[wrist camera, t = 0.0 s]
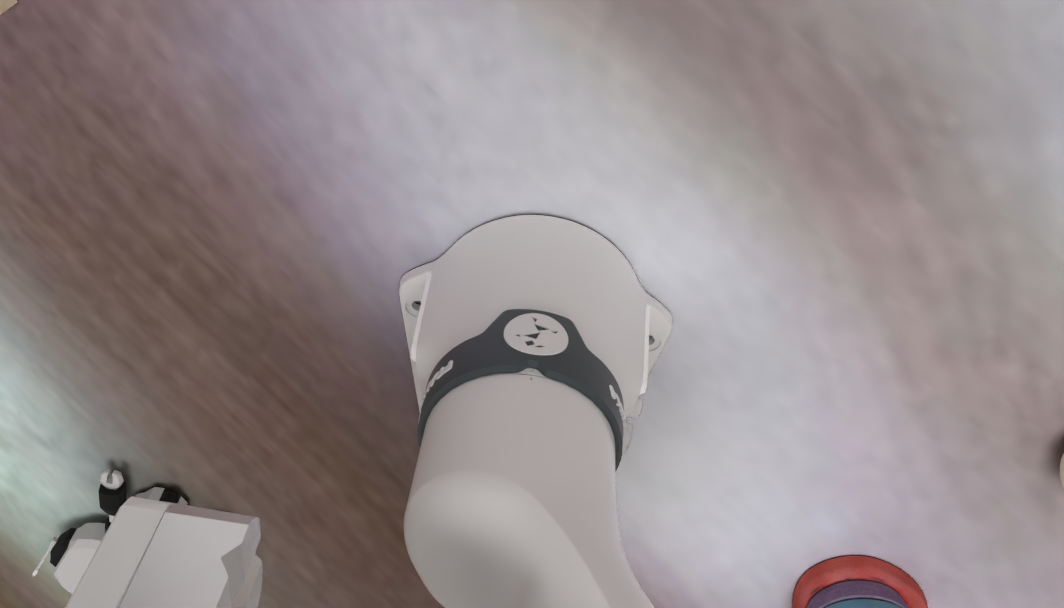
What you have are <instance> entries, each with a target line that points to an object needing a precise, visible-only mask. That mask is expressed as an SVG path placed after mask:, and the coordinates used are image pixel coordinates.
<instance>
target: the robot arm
mask: <svg viewBox="0 0 1064 608" xmlns="http://www.w3.org/2000/svg"><path fill="white" fill-rule="evenodd" d="M399 297H400V303H401V309H402V314H403V320H404V326H405V332H406V337H407V343H408V349H409V354H410V360H411V366H412V372H413V377H414V383H415V389H416V394H417V400H418V406H419V413H420V415H419V420H418V423H419V425H418V441H419V446H420V451H419V456H418V460H417V464H416V469H415V473H414V477H413V481H412V486H411V490H410V494H409V499H408V503H407V507H406V512H405V516H404V538H405V543H406V548H407V551H408V554H409V557H410V559H411V561H412V563H413V565H414V567H415V569H416V571H417V573H418V575H419V576H420V578H421V580H422V582H423V583H424V585H425V586H426V588H427V589H428V591H429V592H430V593H431V595H432V596H433V597H434V598H435V599H436V600H437V601H438V602H439V603H440V604H441V605H442V606H443V607H444V608H654V606H653V605H652V604H651V602H650V601H649V599H648V598H647V596H646V595H645V593H644V592H643V590H642V589H641V587H640V585H639V583H638V582H637V580H636V578H635V576H634V574H633V572H632V570H631V568H630V566H629V564H628V562H627V559H626V556H625V553H624V550H623V547H622V543H621V538H620V530H619V521H618V513H617V501H616V481H615V472H616V470H617V468H618V465H619V463H620V460H621V456H622V453H625V452H626V450H627V449H628V446H629V444H630V440H631V436H632V430H633V425H632V423H630V421H627V420H626V418H627V417H631V418H638V417H639V415H640V412H641V409H642V404H643V401H642V399H641V398H638V396H639V395H641V394H644V393H645V392H646V388H647V380H648V375H649V373H650V371H651V370H652V368H653V366H654V364H655V362H656V360H657V358H658V357H659V355H660V353H661V351H662V349H663V347H664V345H665V344H666V342H667V340H668V338H669V336H670V334H671V331H672V324H673V318H672V316H671V314H670V312H669V311H668V310H667V309H666V308H665V307H664V306H663V305H662V304H661V303H659V302H658V301H657V300H656V299H654V298H653V297H652V296H650V295H649V294H648V293H646V291H645V290H644V289H643V287H642V286H641V284H640V282H639V280H638V278H637V276H636V274H635V272H634V270H633V268H632V267H631V265H630V264H629V262H628V261H627V259H626V258H625V257H624V256H623V254H622V253H621V252H620V251H619V250H618V249H617V248H616V247H615V246H614V245H613V244H612V243H611V242H609V241H608V240H607V239H605V238H604V237H603V236H601V235H600V234H598V233H596V232H595V231H593V230H591V229H589V228H587V227H585V226H583V225H580V224H578V223H575V222H572V221H569V220H566V219H561V218H557V217H551V216H543V215H520V216H511V217H506V218H502V219H498V220H494V221H491V222H489V223H486V224H484V225H481V226H479V227H477V228H475V229H473V230H472V231H470V232H469V233H467V234H466V235H464V236H463V237H461V238H460V239H459V240H458V241H457V242H456V243H455V244H454V245H453V246H452V247H451V248H450V249H449V250H448V251H447V252H446V253H445V254H443V255H442V256H441V257H440V258H439V259H437V260H436V261H433V262H431V263H428V264H425V265H422V266H420V267H417V268H415V269H413V270H411V271H409V272H407V273H406V274H405V275H403V277H402V278H401V280H400V286H399ZM414 301H421V305H418V304H416V303H415V302H414ZM649 335H651V336H653V337H652V338H650V339H649ZM260 538H261V531H260V520H259V518H257V517H253V516H247V515H241V514H235V513H229V512H224V511H218V510H212V509H206V508H200V507H194V506H188V505H183V504H177V503H170V502H163V501H157V500H151V499H144V498H138V497H130V498H129V499H128V500H127V501H126V502H125V503H124V504H123V505H122V506H121V507H120V508H119V510H118V512H117V514H116V515H115V517H114V519H113V521H112V523H111V525H110V526H109V528H108V530H107V532H106V534H105V536H104V537H103V539H102V541H101V543H100V545H99V547H98V548H97V550H96V552H95V554H94V556H93V558H92V559H91V561H90V563H89V565H88V567H87V569H86V570H85V572H84V574H83V576H82V578H81V580H80V581H79V583H78V585H77V587H76V589H75V591H74V592H73V594H72V596H71V598H70V600H69V602H68V603H67V605H66V607H65V608H258V604H259V599H260V595H261V587H262V576H263V571H262V561H261V560H260V559H259V557H258V556H257V555H256V554H255V552H256V549H257V546H258V543H259V541H260Z"/></svg>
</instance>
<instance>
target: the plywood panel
mask: <svg viewBox="0 0 1064 608" xmlns="http://www.w3.org/2000/svg"><path fill="white" fill-rule="evenodd" d="M16 3H18V2H17V0H0V14H2V13H3V12H5V11H6V10H8V9H9V8H10V7H12V6H13V5H15V4H16Z"/></svg>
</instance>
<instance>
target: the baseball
mask: <svg viewBox="0 0 1064 608" xmlns="http://www.w3.org/2000/svg"><path fill="white" fill-rule="evenodd" d="M1060 479H1061V483H1062V487H1063V489H1064V453H1063V456H1062V458H1061V462H1060Z"/></svg>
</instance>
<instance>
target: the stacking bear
mask: <svg viewBox="0 0 1064 608" xmlns="http://www.w3.org/2000/svg"><path fill="white" fill-rule="evenodd" d="M792 608H928V606H927V601H926V598H925V596H924V594H923V592H922V590H921V589H920V587H919V586H918V584H917V583H916V582H915V581H914V580H913V579H912V578H911V577H910V576H909V575H907V574H906V573H905V572H903V571H902V570H900V569H899V568H897V567H895V566H893V565H891V564H889V563H887V562H884V561H882V560H879V559H876V558H872V557H866V556H843V557H838V558H834V559H830V560H827V561H824V562H822V563H819V564H818V565H816V566H814V567H812V568H811V569H810V570H808V571H807V572H806V573H805V574H804V575H803V576H802V577H801V578H800V580H799V581H798V583H797V586H796V588H795V591H794V594H793V600H792Z"/></svg>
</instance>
